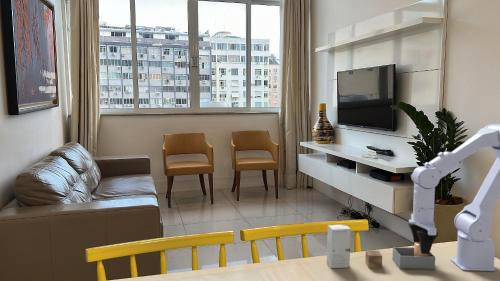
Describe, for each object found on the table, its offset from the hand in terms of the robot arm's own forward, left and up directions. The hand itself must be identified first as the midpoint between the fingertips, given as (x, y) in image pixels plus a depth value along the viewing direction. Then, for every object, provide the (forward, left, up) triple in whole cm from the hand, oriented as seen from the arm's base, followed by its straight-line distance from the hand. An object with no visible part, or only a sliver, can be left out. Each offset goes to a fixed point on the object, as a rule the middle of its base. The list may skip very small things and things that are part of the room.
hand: (421, 249), depth 116 cm
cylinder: (0, 0, -4) cm, 4 cm away
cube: (+15, +1, -5) cm, 15 cm away
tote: (+3, 0, -5) cm, 5 cm away
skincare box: (+26, +2, -5) cm, 26 cm away
